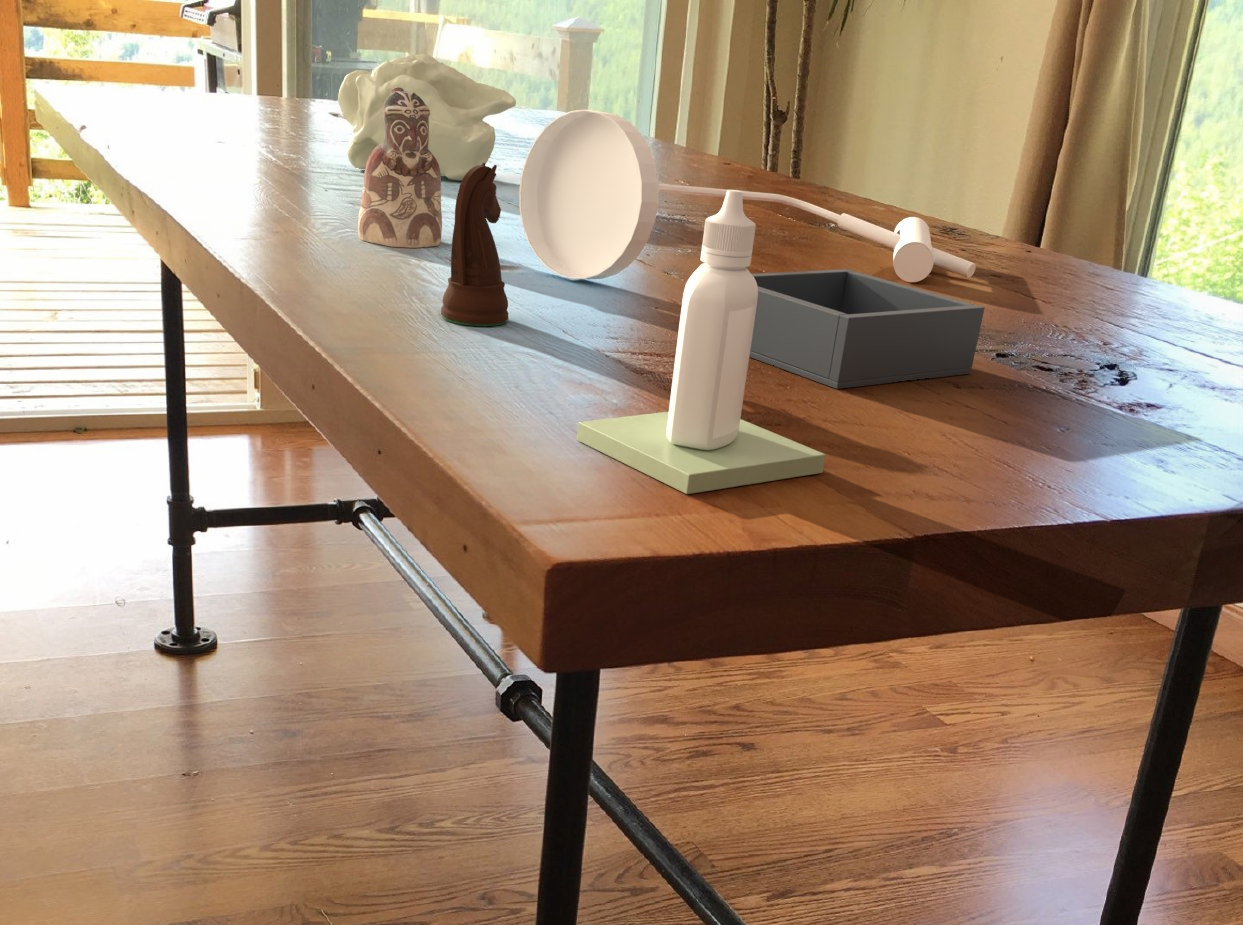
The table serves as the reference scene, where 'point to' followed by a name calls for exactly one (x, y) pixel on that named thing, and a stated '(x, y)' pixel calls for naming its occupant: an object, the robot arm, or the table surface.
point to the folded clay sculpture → (444, 91)
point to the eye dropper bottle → (715, 334)
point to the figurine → (402, 179)
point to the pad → (699, 454)
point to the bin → (860, 329)
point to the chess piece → (475, 255)
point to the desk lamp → (648, 203)
